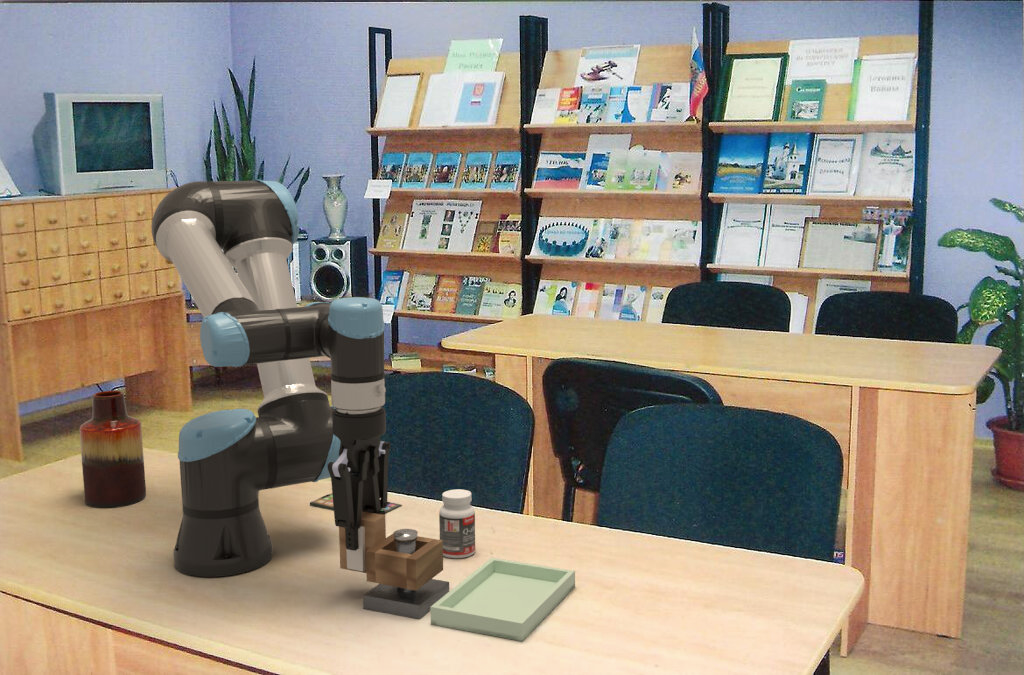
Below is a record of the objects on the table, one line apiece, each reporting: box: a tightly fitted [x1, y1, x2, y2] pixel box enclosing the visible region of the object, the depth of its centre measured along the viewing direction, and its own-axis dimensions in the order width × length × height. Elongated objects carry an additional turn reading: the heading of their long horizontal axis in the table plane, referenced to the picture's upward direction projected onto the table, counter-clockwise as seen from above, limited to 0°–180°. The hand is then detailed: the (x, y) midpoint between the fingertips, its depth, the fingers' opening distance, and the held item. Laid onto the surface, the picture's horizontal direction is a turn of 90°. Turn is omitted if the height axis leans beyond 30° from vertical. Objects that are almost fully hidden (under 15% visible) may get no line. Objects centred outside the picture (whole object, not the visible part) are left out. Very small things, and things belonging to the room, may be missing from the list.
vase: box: [79, 390, 147, 509], centre depth 198 cm, size 11×11×20 cm
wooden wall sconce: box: [338, 511, 444, 591], centre depth 152 cm, size 14×8×8 cm, turn 66°
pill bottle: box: [438, 488, 476, 559], centre depth 170 cm, size 6×6×10 cm
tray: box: [430, 557, 576, 642], centre depth 151 cm, size 14×20×2 cm
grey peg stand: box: [362, 528, 450, 620], centre depth 151 cm, size 9×9×10 cm
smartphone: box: [309, 492, 403, 514], centre depth 195 cm, size 8×15×1 cm, turn 60°
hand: (363, 564), depth 155 cm, fingers closed on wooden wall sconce, 3 cm apart
